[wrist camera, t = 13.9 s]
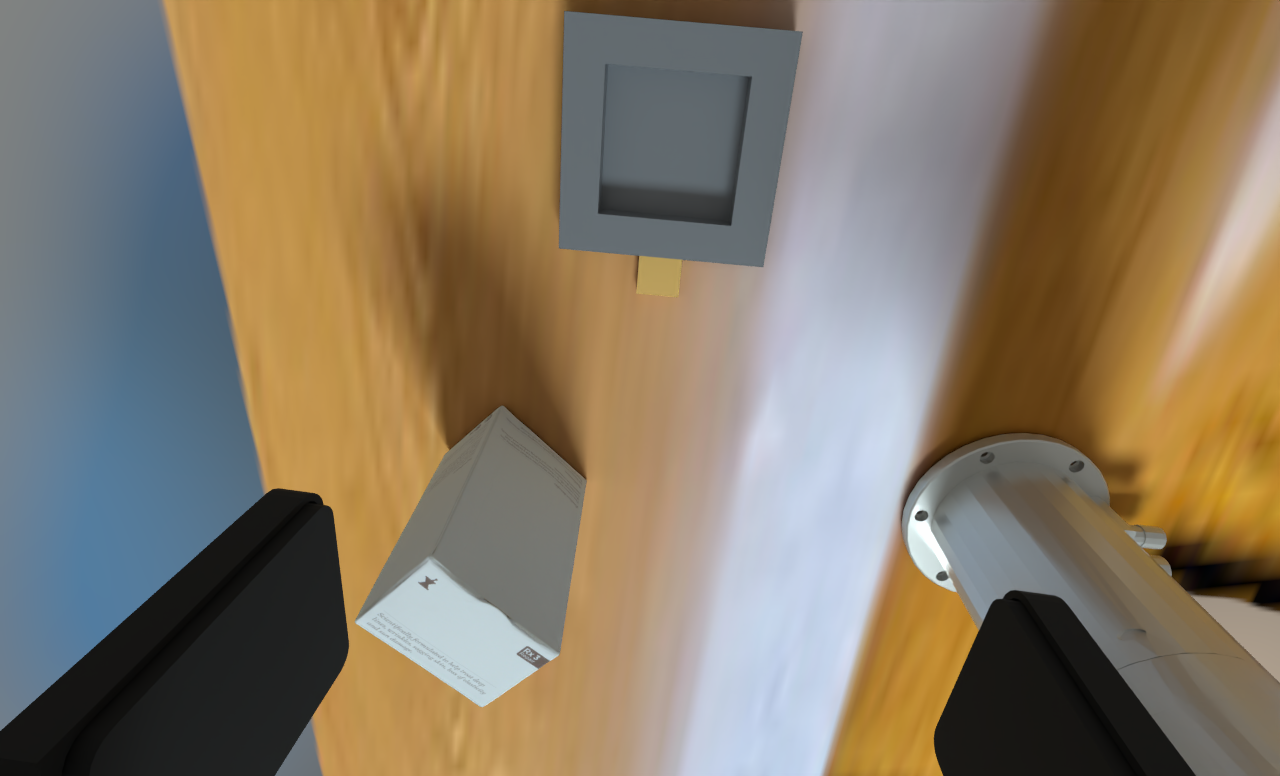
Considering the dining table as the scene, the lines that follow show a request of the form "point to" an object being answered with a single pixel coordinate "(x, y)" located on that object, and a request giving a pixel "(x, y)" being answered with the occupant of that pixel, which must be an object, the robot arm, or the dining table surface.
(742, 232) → the socket
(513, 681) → the skincare box
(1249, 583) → the dining table surface
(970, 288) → the dining table surface
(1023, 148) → the dining table surface
